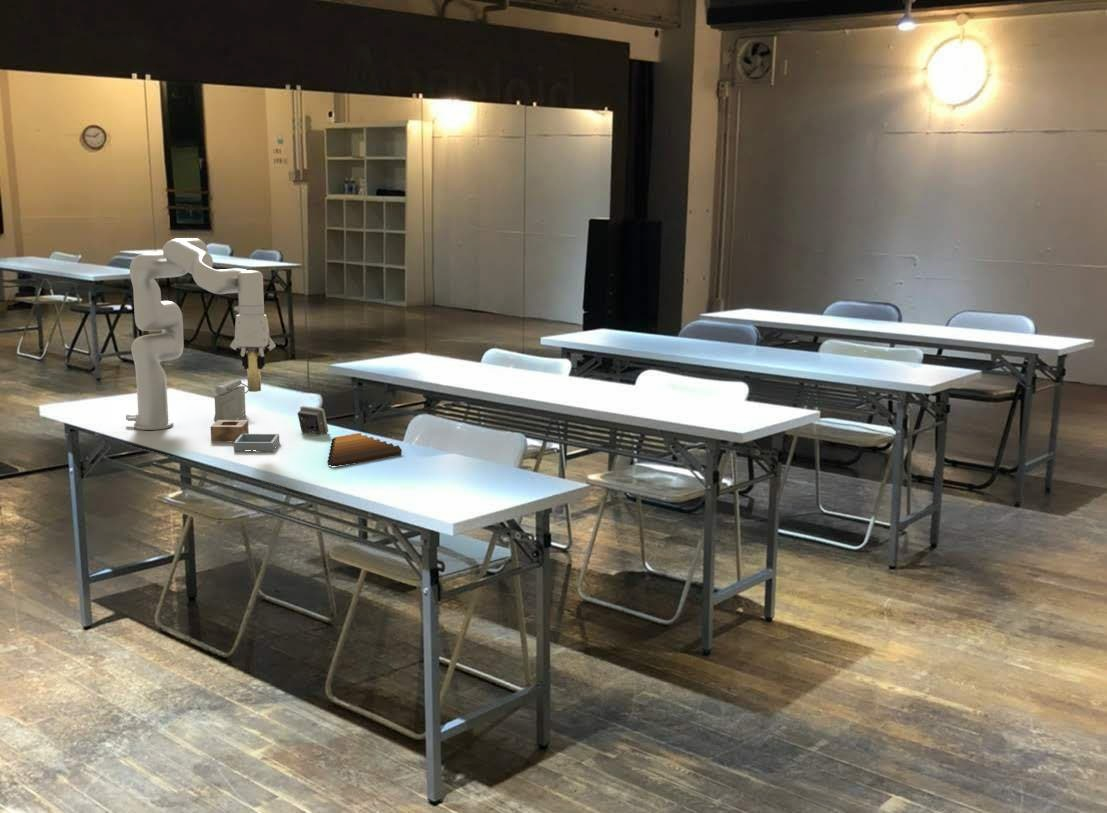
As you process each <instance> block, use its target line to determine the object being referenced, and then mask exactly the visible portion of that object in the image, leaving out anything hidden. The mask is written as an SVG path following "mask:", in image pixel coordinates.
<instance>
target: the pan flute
mask: <svg viewBox="0 0 1107 813" xmlns="http://www.w3.org/2000/svg"><path fill="white" fill-rule="evenodd" d="M329 447H330V449H329V453H328V456H327V461H326V462H327V466H328V465H331V466H339V465H345V466H347V465H346V464H350V465H354V464H353V463H356V464H360V463H359V462H361V463H365V461H366V462H371V461H376V459H377V460H381V459H385V458H386V459H387V458H391V457H393V458H394V457H397V456H401V455H402V453H403V452H402V451H403V450H402V448H401V447H400V445H394V444H393V442H392V443H388V442H387V441H381V439H380V438H377V439H375V438H374V437H373V436H368V435H367V434H364V435H362V434H361V432H359V433H353V434H346V435H341V436H340V435H339V436H335V437H333V438H332V439H331V443H330V446H329Z"/></svg>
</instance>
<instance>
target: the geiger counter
mask: <svg viewBox="0 0 1107 813" xmlns="http://www.w3.org/2000/svg"><path fill="white" fill-rule="evenodd" d="M245 387H246V388H247V390H245ZM214 391H215V395H214V414H215V415H214V418H213V421H214V423H215V422H216V421H217V420H236V419H237V420H239V419H240V417H241V416H243V415H244V416H246V415H245V414H246V394H247V393H249V391H248V384H244V383H242V380H241V379H239V378H236V379H235V380H232V381H230V382H227V383H225V384H223V385H221V384H220V385H218V386H217V387H215V389H214ZM244 416H243V417H244ZM238 418H239V419H238ZM241 418H242V417H241Z"/></svg>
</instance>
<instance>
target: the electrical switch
mask: <svg viewBox="0 0 1107 813" xmlns="http://www.w3.org/2000/svg"><path fill="white" fill-rule="evenodd" d="M297 417H298V422H299V426H300V429H301V430H300V431H301V433H302V432H303V434H310V435H318V436H321V435H323V434H328V433H329V427H328V422H327V417H326V413H325V409H324V408H322V407H321V408H320V407H315V406H314V407H312V406H305V405H304V406H303V405H302V406H300V408H299V411H298V412H297Z"/></svg>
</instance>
